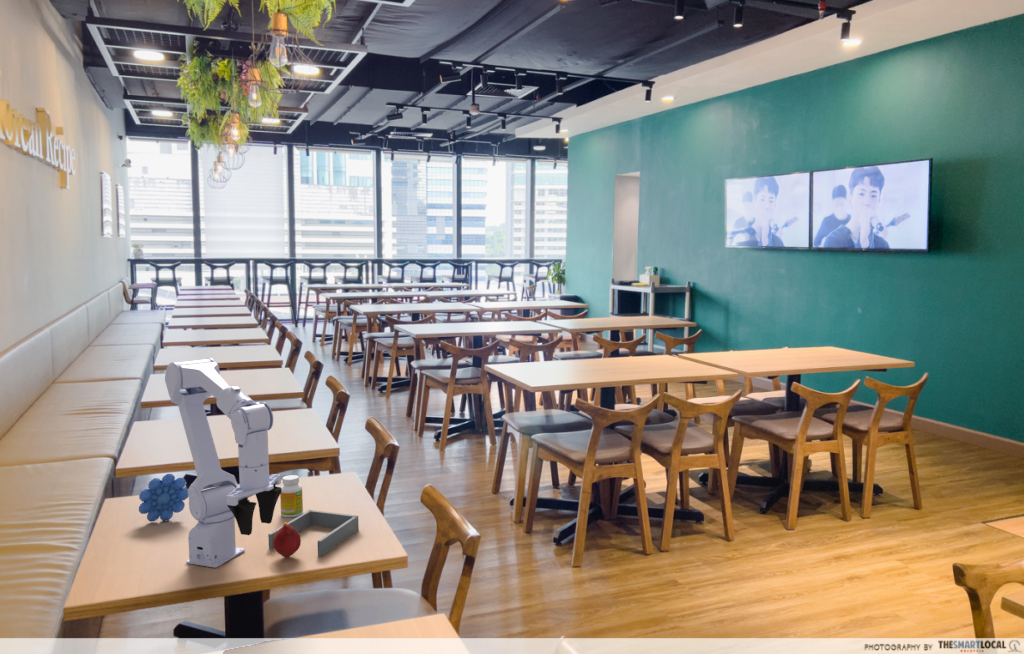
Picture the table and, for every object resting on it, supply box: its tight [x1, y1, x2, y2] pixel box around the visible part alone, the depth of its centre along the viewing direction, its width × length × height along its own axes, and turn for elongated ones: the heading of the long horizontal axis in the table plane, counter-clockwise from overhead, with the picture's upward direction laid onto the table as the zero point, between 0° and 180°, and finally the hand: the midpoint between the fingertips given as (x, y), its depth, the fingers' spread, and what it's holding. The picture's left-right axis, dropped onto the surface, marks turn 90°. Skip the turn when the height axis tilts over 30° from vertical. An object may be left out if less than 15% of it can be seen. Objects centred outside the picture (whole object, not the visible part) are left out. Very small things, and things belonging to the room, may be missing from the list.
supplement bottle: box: [279, 474, 304, 518], centre depth 181 cm, size 5×5×10 cm
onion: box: [273, 521, 302, 559], centre depth 155 cm, size 6×6×8 cm
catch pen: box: [267, 509, 360, 557], centre depth 165 cm, size 16×14×4 cm
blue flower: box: [138, 473, 189, 523], centre depth 177 cm, size 12×7×12 cm, turn 111°
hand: (256, 528), depth 145 cm, fingers open, 6 cm apart
